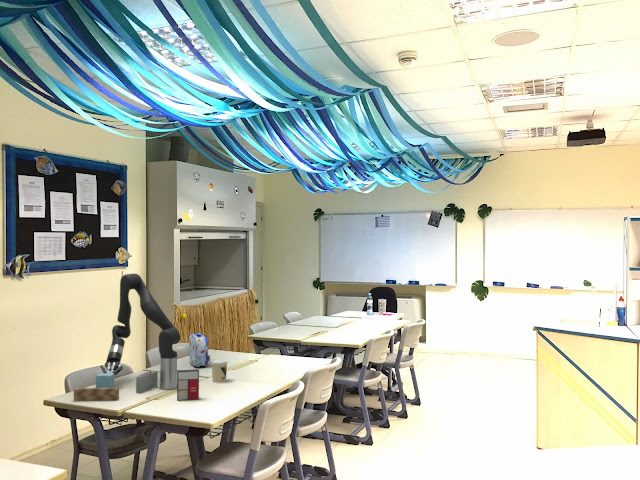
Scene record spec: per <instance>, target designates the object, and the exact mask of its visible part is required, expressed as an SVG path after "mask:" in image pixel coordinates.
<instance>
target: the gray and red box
mask: <svg viewBox="0 0 640 480" xmlns="http://www.w3.org/2000/svg"><path fill="white" fill-rule="evenodd" d="M177 370H178V371H177V388H176V392H177V393H176V400H177V401H188V400H189V401H192V400H194V401H195V400H199V399H200V392H199V391H200V369H198V368H195V369H177Z"/></svg>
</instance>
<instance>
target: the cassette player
mask: <svg viewBox="0 0 640 480" xmlns="http://www.w3.org/2000/svg"><path fill="white" fill-rule="evenodd" d="M158 373H159V371H158V370H148V371H146V372H142V373H139V374H138V376H137V375H136V377H135V378H136V379H135V382H136V383H135V384H136V385H135V393H136V394H143V393H145V391H146V392H147V391H148V392H149V391H150V390H152V389H156V388H158V375H159V374H158Z"/></svg>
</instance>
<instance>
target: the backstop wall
mask: <svg viewBox="0 0 640 480" xmlns="http://www.w3.org/2000/svg"><path fill="white" fill-rule="evenodd" d="M119 399H120V387H114V388H96V387H75V388H74V389H73V402H99V401H100V402H104V401H105V402H107V401H108V402H109V401H110V402H111V401H115V402H116V401H119Z"/></svg>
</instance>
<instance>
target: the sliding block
mask: <svg viewBox="0 0 640 480" xmlns="http://www.w3.org/2000/svg"><path fill="white" fill-rule="evenodd" d="M95 388H115V375H114V373H103V372H102V373H98V374H97V375H95Z"/></svg>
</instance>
